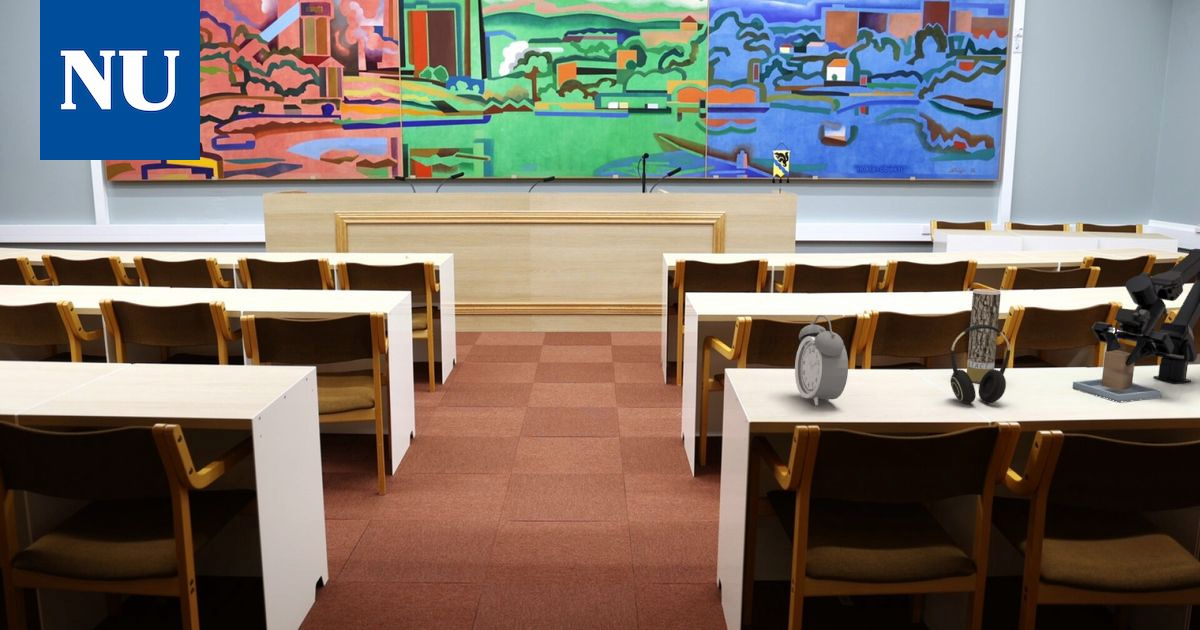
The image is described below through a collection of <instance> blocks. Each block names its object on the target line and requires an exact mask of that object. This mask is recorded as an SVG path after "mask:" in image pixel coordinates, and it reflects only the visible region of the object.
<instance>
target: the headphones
mask: <svg viewBox="0 0 1200 630" xmlns="http://www.w3.org/2000/svg"><path fill="white" fill-rule="evenodd" d="M975 329H991V330H994V331H996V332H997V334H1000V335H1001V336H1002V337H1003V339H1004V340H1005V342H1006V346H1007V349H1006V352H1005V353H1006V354H1005V357H1004V360H1003V363H1002V365H1001V366H1000V369H994V370H990V371H988V372H987V373H986V374H985V375H984V376H983V378H982V379H981V382H980V383H979V386H978V396H979V398H980V400H981V401H982V402H984V403H986V404H994V403H995V402H997V401H998V400H1000V399H1001V398H1002V397H1003V395H1004V393H1005V391H1006V388H1007V381H1006V377H1005V375H1004V374H1005V372H1006V370H1007V369H1006V368H1007V367H1008V363H1009V360H1010V356H1011V355H1010V354H1011V345H1010V342H1009V340H1008V338H1007V337H1006V336H1005V334H1004V333H1003V332H1002V331H1001V329H999V328H996V327H993V326H991V325H985V324H980V325H974V326H971V327H970V326H969V327H967V328H966V329H965V330H963V331H962V332H961V333H960V334H959V335H958V336H957V337H956V338H955V340H954V341H953V343H952V346H951V350H950V361H951V367H952V370H953V372H952V374H951V377H950V387H951V389H952V392H953V394H954V396H955V397H956V398H957V400H958V401H960V402H962V403H963V404H972V403H973V402H974V401H975V399H976V398H977V397H976V395H977V394H976V393H977V392H976V389H975V385H974V382H972V380H971V378H970V377H969V375H968V374H967V371H965V370H963V369H958V366H957V364H956V363H957V362H956V359H955V347H956V343H957V342H958V340H960V338H961V337H962V336H964V335H965V334H968V333H970V331H971V330H975Z"/></svg>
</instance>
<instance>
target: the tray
mask: <svg viewBox="0 0 1200 630" xmlns="http://www.w3.org/2000/svg"><path fill="white" fill-rule="evenodd" d="M1101 384H1102V378H1100V379H1097V378H1096V379H1088V380H1079V381H1078V380H1077V381H1072V389H1073V390H1077V391H1079V390H1080V392H1083V393H1086V392H1087V393H1086V394H1089V393H1090V394H1089V395H1092V394H1094V395H1093V396H1096V395H1097V396H1096V397H1099V396H1101V397H1100V398H1102V397H1105V398H1108V399H1111V400H1110V401H1112V400H1114V401H1113V402H1115V401H1117V402H1116V403H1118V402H1119V403H1122V402H1121V401H1127V402H1132V401H1131V400H1136V401H1141V400H1140V399H1145V400H1152V399H1153V398H1154V399H1160V398H1161V395H1162V391H1161V390H1160V389H1154V388H1152V387H1149V386H1144V385H1141V384H1137V383H1134V382H1132V388H1128V389H1124V390H1117V389H1113V388H1109V387H1105V386H1101ZM1105 398H1104V399H1105ZM1108 399H1107V400H1108Z"/></svg>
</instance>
